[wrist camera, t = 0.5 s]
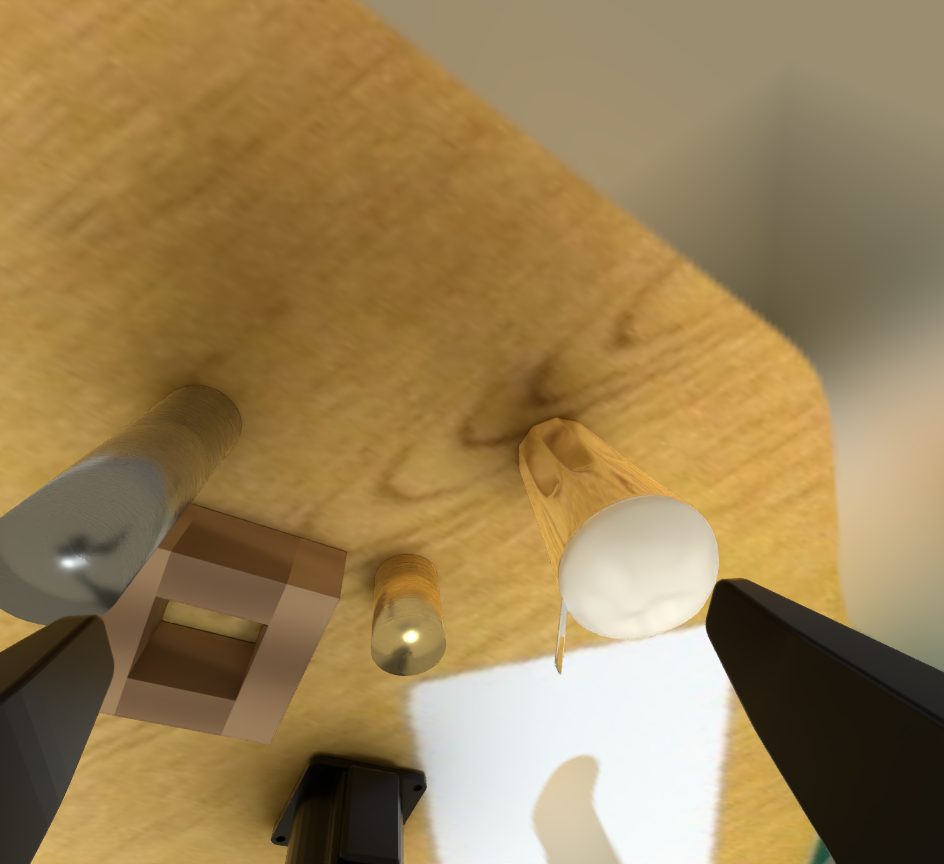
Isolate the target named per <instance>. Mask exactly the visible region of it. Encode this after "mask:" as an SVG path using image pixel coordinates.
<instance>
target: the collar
mask: <svg viewBox="0 0 944 864" xmlns="http://www.w3.org/2000/svg"><path fill="white" fill-rule="evenodd" d="M346 553H347V552H345V551H341V550H338V549H335V548H332V547H328V546H325V545H322V544H319V543H316V542H312V541H309V540H306V539H303V538H299V537H296V536H293V535H290V534H287V533H283V532H280V531H277V530H274V529H270V528H267V527H264V526H261V525H258V524H254V523H251V522H248V521H245V520H241V519H238V518H235V517H232V516H229V515H225V514H222V513H219V512H216V511H212V510H209V509H206V508H203V507H200V506H196V505H193V504H190V505H189V506H188V507H187V509H186V510H185V511H184V513H183V514H182V515H181V517H180V518H179V519H178V521H177V522H176V523H175V525H174V526H173V527H172V529H171V530H170V531H169V533H168V534H167V535H166V537H165V538H164V539H163V541H162V542H161V543H160V545H159V546H158V547H157V549H156V550H155V551H154V553H153V554H152V555H151V557H150V558H149V559H148V561H147V562H146V563H145V565H144V566H143V567H142V569H141V570H140V571H139V573H138V574H137V575H136V577H135V578H134V579H133V581H132V582H131V583H130V585H129V586H128V587H127V589H126V590H125V592H124V593H123V594H122V596H121V597H120V598H119V600H118V601H117V602H116V604H115V605H114V606H113V607H112V608H111V609H110V610H109V611H107V612H106V613H105V614H103V615H102V616H100V617H101V618H102V620H103V621H104V624H105V627H106V631H107V635H108V639H109V643H110V647H111V651H112V654H113V658H114V674H113V679H112V681H111V684H110V687H109V689H108V692H107V694H106V696H105V699H104V701H103V704H102V706H101V709H100V711H99V713H103V714H109V715H114V716H119V717H124V718H130V719H135V720H140V721H146V722H151V723H156V724H162V725H167V726H172V727H177V728H183V729H188V730H193V731H199V732H204V733H209V734H215V735H220V736H225V737H230V738H236V739H241V740H246V741H252V742H257V743H262V744H268V745H270V743H271V741H272V739H273V737H274V735H275V733H276V731H277V729H278V727H279V724H280V722H281V720H282V718H283V716H284V714H285V712H286V710H287V708H288V706H289V704H290V702H291V699H292V697H293V695H294V693H295V691H296V689H297V687H298V685H299V683H300V681H301V679H302V677H303V674H304V672H305V670H306V668H307V666H308V664H309V662H310V660H311V658H312V656H313V654H314V652H315V649H316V647H317V645H318V643H319V641H320V639H321V637H322V635H323V633H324V631H325V629H326V627H327V625H328V622H329V620H330V618H331V616H332V614H333V612H334V610H335V608H336V606H337V604H338V602H339V600H340V594H341V587H342V580H343V574H344V567H345V560H346ZM168 600H172V601H176V602H179V603H183V604H187V605H191V606H195V607H199V608H203V609H207V610H211V611H215V612H219V613H223V614H226V615H230V616H234V617H238V618H242V619H246V620H250V621H254V622H258V623H262V624H263V627H262V629H261V631H260V634H259V636H258V638H257V641H256V643H255V644H254V643H249V642H245V641H241V640H237V639H233V638H229V637H225V636H221V635H217V634H212V633H208V632H204V631H200V630H196V629H192V628H188V627H184V626H180V625H175V624H171V623H167V622H163V621H161V620H162V617H163V614H164V611H165V609H166V606H167V603H168Z"/></svg>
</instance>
